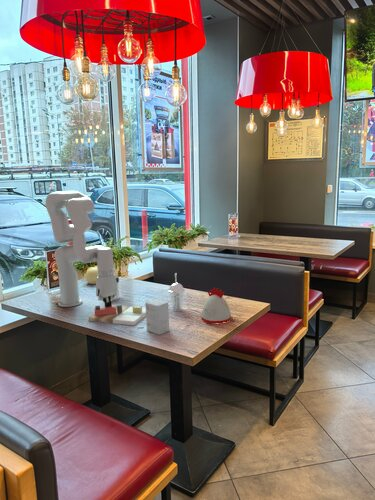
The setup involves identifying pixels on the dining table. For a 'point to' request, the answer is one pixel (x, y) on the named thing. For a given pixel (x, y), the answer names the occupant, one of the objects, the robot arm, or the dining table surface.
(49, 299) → the dining table surface
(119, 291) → the jar
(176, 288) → the cup with straw
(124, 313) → the door
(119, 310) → the tan wavy block
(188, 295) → the dining table surface
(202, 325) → the dining table surface
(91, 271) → the pale yellow ball
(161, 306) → the small box
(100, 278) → the robot arm
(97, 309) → the swing bar
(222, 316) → the kitchen timer
